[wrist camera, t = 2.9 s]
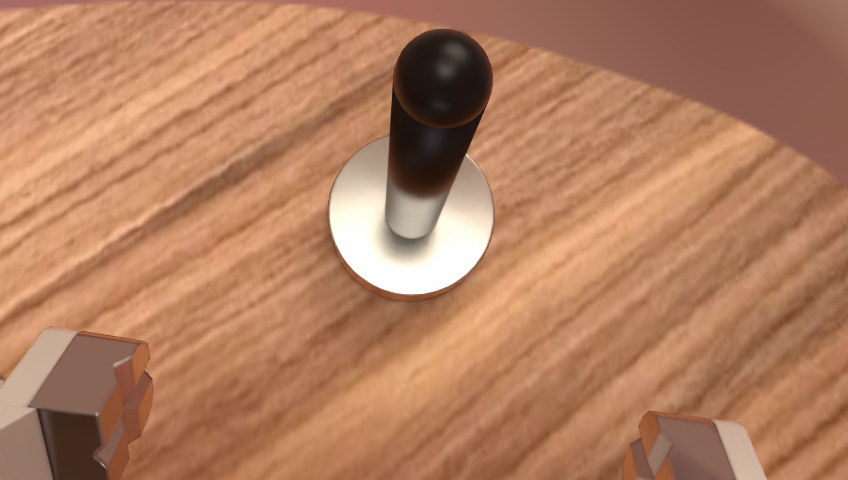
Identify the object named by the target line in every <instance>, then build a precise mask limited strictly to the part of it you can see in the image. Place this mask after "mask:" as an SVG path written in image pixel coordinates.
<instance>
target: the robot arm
mask: <svg viewBox="0 0 848 480" xmlns="http://www.w3.org/2000/svg"><path fill="white" fill-rule="evenodd" d="M149 360H150V354H149V347H148V343H146V342H144V341H141V340H135V339H129V338H123V337H116V336H110V335H104V334H98V333H92V332H86V331H76V330H70V329H64V328H58V327H52V326H50V327H48V328H47V329H45V330H43V331H42V332H41V333H40V334H39V335H38V337H37V338H36V339H35V341H34V342H33V344H32V345H31V346H30V348H29V349H28V350H27V352H26V353H25V354H24V356H23V357H22V358H21V360H20V361H19V363H18V364H17V365H16V367H15V368H14V369H13V371H12V372H11V373H10V375H9V376H8V377H7V379H6V380H5V382H4V383H3V384H2V386H1V387H0V480H120V478H121V476H122V474H123V472H124V470H125V468H126V465H127V463H128V461H129V459H130V458H129V450H128V444H129V443H131V442H132V441H134V440H135V439H137V438H138V437H140V436H141V434H142V432H143V429H144V427H145V425H146V423H147V420H148V416H149V413H150V409H151V405H152V398H153V382H152V378H151V377H150V376H149V375H148V373H147V372H146V371H145V368H146V366H147V364H148V362H149ZM639 430H640V434H641V438H639V439H637V440H636V441H634V442H632V443H631V444H630V445H629V447H628V450H627V452H626V455H625V457H624V463H623V470H622V480H767V478H766V476H765V473H764V471H763V469H762V466H761V464H760V462H759V459H758V457H757V455H756V452H755V450H754V447H753V445H752V443H751V440H750V438H749V436H748V433H747V431H746V429H745V427H744V426H743V425H742V424H741V423H740V422H733V421H726V420H718V419H707V418H703V417H695V416H687V415H679V414H671V413H664V412H656V411H648V412H647V413H646V414H645V415H644V416H643V418H642V420H641V422H640V424H639Z"/></svg>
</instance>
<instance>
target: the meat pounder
mask: <svg viewBox="0 0 848 480" xmlns="http://www.w3.org/2000/svg"><path fill="white" fill-rule="evenodd" d="M492 86H493V73H492V67H491V64H490V62H489V59H488V56H487V55H486V53H485V51H484V50H483V48H482V47H481V46H480V45H479V44H478V43H477V42H476V41H475V40H474V39H472V38H471V37H470V36H468V35H466V34H464V33H462V32H459V31H455V30H451V29H435V30H431V31H427V32H424V33H422V34H421V35H419V36H417V37H416V38H414V39H413V40H412V41H411V42H409V43H408V44H407V46H406V47H405V48H404V49H403V50H402V52H401V54H400V56H399V57H398V59H397V63H396V66H395V69H394V74H393V89H392V105H391V121H390V135H387V136H384V137H381V138H378V139H376V140H374V141H372V142H370V143H368V144H366V145H365V146H363V147H362V148H360V149H359V150H358V151H357V152H356V153H354V154H353V155H352V156H351V157H350V158H349V159H348V160H347V162H346V163H345V164H344V165H343V167H342V168H341V170H340V171H339V173H338V175H337V177H336V179H335V181H334V183H333V186H332V189H331V192H330V196H329V201H328V213H327V215H328V226H329V230H330V235H331V238H332V241H333V244H334V247H335V250H336V252H337V255H338V257H339V259H340V261H341V263H342V264H343V266H344V267H345V269H346V270H347V271H348V273H349V274H350V275H351V276H352V277H353V278H354V279H355V280H356V281H357V282H358V283H360V284H361V285H362V286H363V287H365V288H367V289H368V290H370V291H371V292H373V293H375V294H378V295H380V296H382V297H386V298H389V299H393V300H399V301H420V300H426V299H430V298H433V297H436V296H439V295H441V294H443V293H445V292H447V291H449V290H451V289H452V288H454V287H455V286H457V285H458V284H459V283H460V282H461V281H462V280H464V279H465V278H466V277H467V276H468V275H469V274H470V273H471V272H472V271H473V270H474V268H475V267H476V266H477V265H478V264H479V262H480V261H481V259H482V258H483V256H484V254H485V253H486V251H487V248H488V246H489V244H490V241H491V238H492V234H493V230H494V223H495V208H494V200H493V196H492V192H491V189H490V186H489V184H488V181H487V179H486V177H485V176H484V174H483V172H482V170H481V169H480V168H479V166H478V165H477V164H476V162H475V161H474V160H473V159H472V158H471V157H470V156H469V155H468V154H467V150H468V148H469V146H470V143H471V141H472V139H473V136H474V134H475V132H476V129H477V127H478V124H479V122H480V120H481V117H482V115H483V113H484V110H485V108H486V106H487V103H488V101H489V99H490V95H491V92H492Z"/></svg>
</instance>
